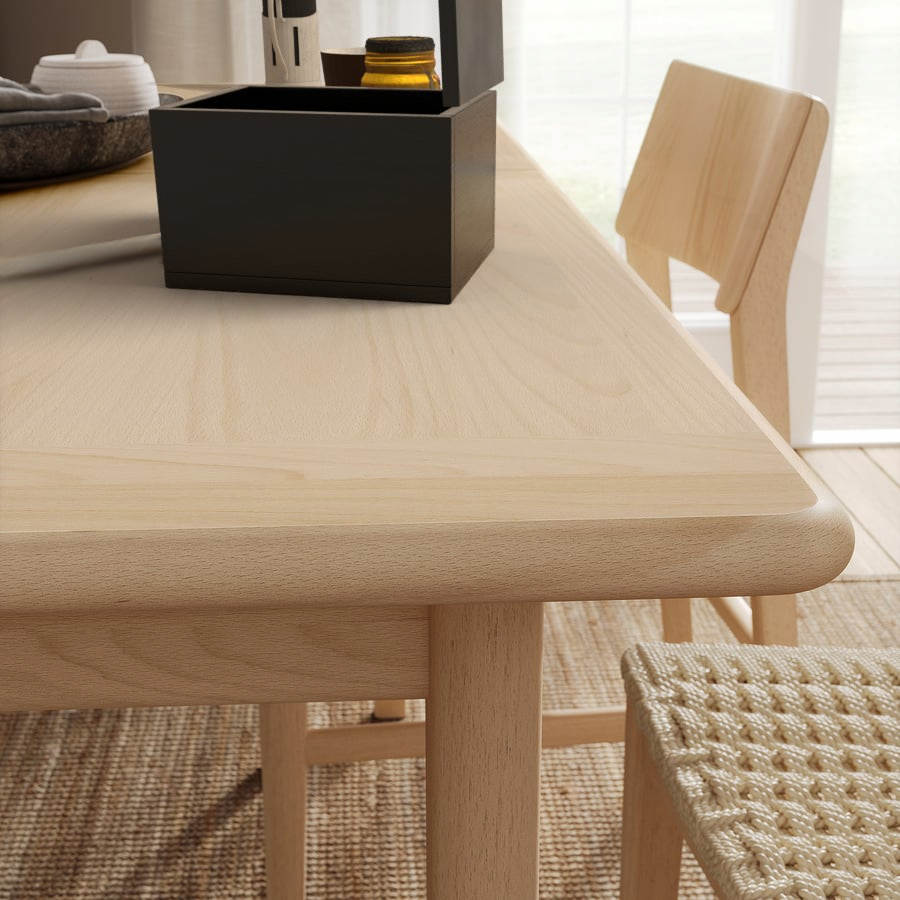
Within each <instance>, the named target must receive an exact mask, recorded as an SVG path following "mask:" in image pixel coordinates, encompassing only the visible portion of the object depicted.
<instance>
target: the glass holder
mask: <svg viewBox="0 0 900 900" xmlns="http://www.w3.org/2000/svg"><path fill="white" fill-rule="evenodd" d="M261 5H262V11H261V25H262V27H261V28H262V42H263V43H262V44H263V61H264V77H265V81H264V85H285V86H324V85H323V83H322V79H321V78H322V77H321V76H322V75H321V54H320V51H321V50H320V31H319V30H320V29H319V11H318V10H317V0H261Z"/></svg>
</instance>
